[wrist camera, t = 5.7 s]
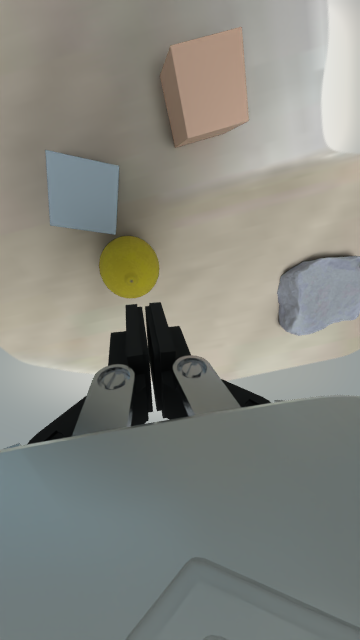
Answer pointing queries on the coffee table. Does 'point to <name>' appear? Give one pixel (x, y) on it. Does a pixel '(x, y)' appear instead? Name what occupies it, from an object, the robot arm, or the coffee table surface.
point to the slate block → (82, 193)
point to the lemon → (129, 267)
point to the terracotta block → (205, 86)
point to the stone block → (319, 294)
